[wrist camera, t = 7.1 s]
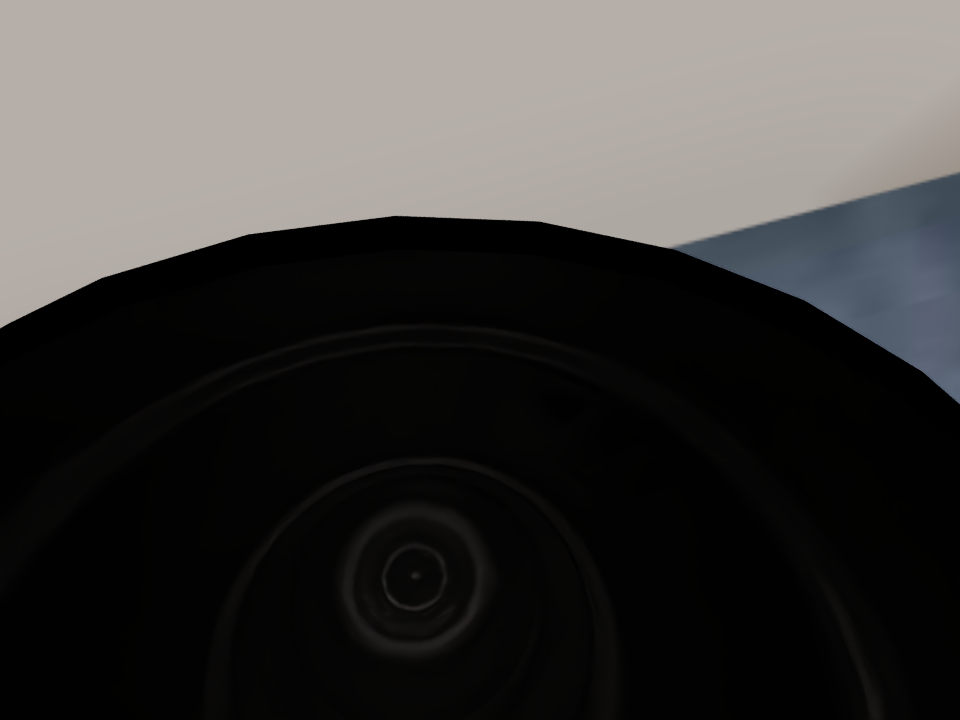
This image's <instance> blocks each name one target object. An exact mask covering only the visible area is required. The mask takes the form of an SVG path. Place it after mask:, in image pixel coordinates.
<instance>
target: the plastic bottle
mask: <svg viewBox="0 0 960 720" xmlns="http://www.w3.org/2000/svg"><path fill="white" fill-rule="evenodd" d="M0 720H960V404H959V403H958V402H956V401H955V400H954V399H953V398H952V397H951V396H950V395H948V394H947V393H946V392H945V391H944V390H943V389H942V388H940V387H939V386H938V385H937V384H936V383H935V382H934V381H932V380H931V379H930V378H929V377H928V376H927V375H925V374H924V373H923V372H922V371H920V370H919V369H917V368H915V367H914V366H912V365H910V364H909V363H907V362H905V361H904V360H902V359H900V358H899V357H897V356H896V355H894V354H892V353H891V352H889V351H887V350H886V349H884V348H882V347H881V346H879V345H877V344H876V343H874V342H872V341H871V340H869V339H867V338H866V337H864V336H862V335H861V334H859V333H857V332H856V331H854V330H853V329H851V328H849V327H848V326H846V325H844V324H843V323H841V322H839V321H838V320H836V319H834V318H833V317H831V316H829V315H828V314H826V313H824V312H823V311H821V310H819V309H818V308H816V307H814V306H813V305H811V304H810V303H808V302H806V301H805V300H802V299H799V298H797V297H794V296H792V295H789V294H787V293H784V292H782V291H779V290H777V289H774V288H771V287H769V286H766V285H764V284H761V283H759V282H756V281H754V280H751V279H748V278H746V277H743V276H741V275H738V274H736V273H733V272H731V271H728V270H725V269H723V268H720V267H718V266H715V265H713V264H710V263H708V262H705V261H702V260H700V259H697V258H695V257H692V256H690V255H687V254H685V253H682V252H680V251H677V250H673V249H668V248H663V247H658V246H654V245H649V244H644V243H639V242H634V241H630V240H625V239H620V238H615V237H611V236H606V235H601V234H596V233H591V232H587V231H582V230H577V229H572V228H567V227H562V226H558V225H553V224H548V223H543V222H536V221H512V220H486V219H461V218H436V217H410V216H391V217H383V218H375V219H367V220H359V221H351V222H343V223H335V224H327V225H319V226H312V227H304V228H296V229H288V230H280V231H272V232H264V233H257V234H248V235H245V236H242V237H238V238H235V239H232V240H228V241H225V242H222V243H218V244H215V245H211V246H208V247H205V248H201V249H198V250H195V251H191V252H188V253H185V254H181V255H178V256H174V257H171V258H168V259H165V260H161V261H158V262H154V263H151V264H148V265H144V266H141V267H137V268H134V269H131V270H128V271H124V272H121V273H118V274H114V275H111V276H107V277H104V278H101V279H99V280H97V281H95V282H93V283H91V284H89V285H87V286H85V287H82V288H81V289H79V290H76V291H74V292H72V293H71V294H68V295H66V296H64V297H62V298H60V299H58V300H56V301H54V302H52V303H50V304H48V305H46V306H44V307H41V308H39V309H37V310H35V311H33V312H31V313H29V314H27V315H25V316H23V317H21V318H19V319H17V320H15V321H13V322H11V323H9V324H7V325H5V326H4V327H2V328H0Z"/></svg>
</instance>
